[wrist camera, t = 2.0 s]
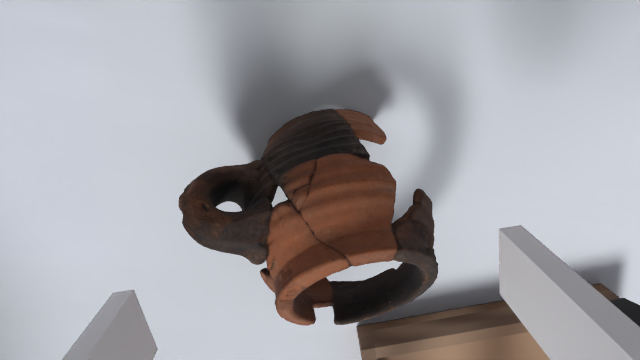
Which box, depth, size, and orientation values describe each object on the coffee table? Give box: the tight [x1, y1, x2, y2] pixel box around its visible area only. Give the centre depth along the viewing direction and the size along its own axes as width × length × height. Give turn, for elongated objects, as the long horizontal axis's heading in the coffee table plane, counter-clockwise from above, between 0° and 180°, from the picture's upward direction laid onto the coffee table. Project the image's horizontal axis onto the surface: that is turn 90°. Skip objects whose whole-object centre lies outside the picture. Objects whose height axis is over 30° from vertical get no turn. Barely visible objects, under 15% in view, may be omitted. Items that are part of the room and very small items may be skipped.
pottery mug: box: [179, 109, 438, 325], centre depth 19 cm, size 12×10×8 cm
